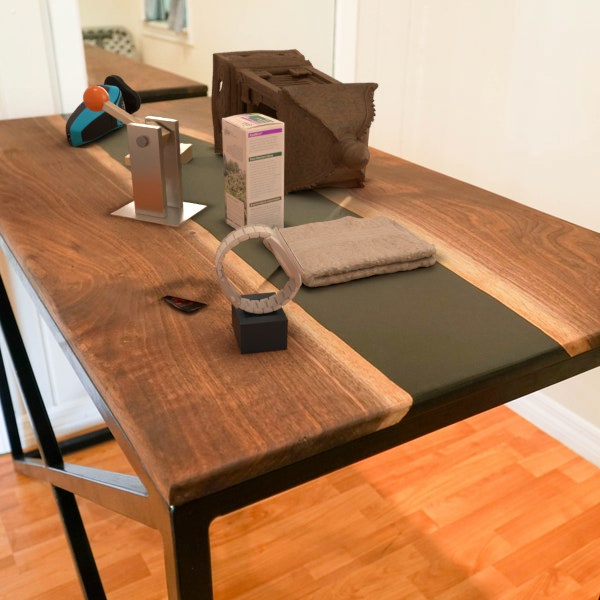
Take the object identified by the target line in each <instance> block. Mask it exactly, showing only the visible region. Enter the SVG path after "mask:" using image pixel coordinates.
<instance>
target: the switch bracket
mask: <svg viewBox="0 0 600 600" xmlns="http://www.w3.org/2000/svg"><path fill="white" fill-rule="evenodd" d="M151 121H154V122H155V123H157V124H158V125H160V126H161V127H158V126H151V125H144V124H146V123H148V122H151ZM179 123H180V122H179V119H174V118H166V117H158V116H152V115H148V116H146V117H144V124H136V123H129V124H127V125H126V133H127V143H128V154H129V155H130V165H131V166H130V174H131V183H132V184H131V185H132V194H133V201H131V202H129V203H127V204H125V205H123V206H121V207H120V208H118V209H117V210H114V211H113V212H111V213H110V216H112V217H116V218H117V217H118V218H121V219H122V218H123V219H127V220H128V219H129V220H134V221H137V222H144V223H150V224H155V225H159V226H165V227H170V228H176V229H178V228H179V227H180V226H182V225H184V224H185V223H187V222H188V221H190V220H191V219H193V218H194V217H195V216H197V215H198V214H200V213H202V212H203V211H205V210H206V209H207V208H208V206H207V205H203V204H197V203H191V202H185V201H184V193H183V192H184V191H183V176H182V163H181V156H180V143H181V141H180V124H179ZM162 127H163V128H164V129H166V130H167V131H169V132H170V134H169V137H168V140H167V143H166V145H165V148H163V140H162Z"/></svg>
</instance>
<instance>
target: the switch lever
mask: <svg viewBox="0 0 600 600" xmlns="http://www.w3.org/2000/svg"><path fill="white" fill-rule="evenodd" d="M83 101H84V104H85V106H86V107H87V108H88V109H89V110H91V111H94V112H101V111H103V110H104V111H106V112H107V113H109V114H110V115H112V116H113V117H115V118H116V119H118V120H120V121H121V122H123V123H124V125H126V126H127V124H129V123H136V124H144V125H151V126H158V127H161V126H160V125H158V124H157V123H155V122H154V121H151V122H148V123H146V124H145V122H142V121H141V120H139V119H138V118H136V117H135V116H134V115H133V114H131V115H130V114H129V113H127V112H125V111H124V110H122V109H121V108H119V107H118V106H116V105H115V104H113V103H112V102H110V101H109V95H108V93H107V92H106V90H105V89H103V88H102V87H100V86H94V85H90V86H89V87H87V88H86V89H85V90H84V91H83V94H82V102H83ZM169 134H170V132H169V131H167V130H166V129H164V128H163V127H162V140H163V148H165V145H166V143H167V140H168V137H169Z"/></svg>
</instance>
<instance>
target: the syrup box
mask: <svg viewBox="0 0 600 600" xmlns="http://www.w3.org/2000/svg"><path fill="white" fill-rule="evenodd" d="M222 138H223V154H222V160H223V162H222V163H223V189H224V192H223V194H224V213H225V214H224V215H225V216H224V217H225V224H227V225H228V226H230V227H231V228H233V229H235V230H236V229H237V228H240V227H242V226H246V225H251V224H254V225H255V224H265V225H267V226H268V227H270V228H271V229H273V230H274V228H275V227H277V228H278V229H279V228H285V227H284V226H285V223H284V221H285V217H284V216H285V215H284V214H285V212H284V211H285V210H284V209H285V195H284V123H283V122H281V121H278V120H276V119H273V118H270V117H268V116H265V115H262V114H260V113H251V114H241V115H235V116H231V117H227V118H222Z"/></svg>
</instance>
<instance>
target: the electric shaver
mask: <svg viewBox="0 0 600 600" xmlns="http://www.w3.org/2000/svg"><path fill="white" fill-rule="evenodd" d="M93 86H100V87H102V88H103V89H105V90H106V92H107V93H108V95H109V101H110V102H112V103H113V104H115V105H116V106H118V107H119V108H121V109H122V110H124V111H125V112H127V113H129V114H130V115H133V114H135V113H137V112H138V111H139V110H140V108H141V105H142V99H141V97H140V95H139V93H138V92H137V91H136V90H134V89H133V88H132V87H130V86H129V85H128V83H126V82H125V80H124V79H123V78H122V77H121V76H119V75H117V74H111V75H107V77H105V79H104V82H103V84H95V85H93ZM124 125H125V124H124V123H123V122H121V121H120V120H118V119H116V118H115V117H113V116H112V115H110V114H109V113H107V112H106V111H104V110H103V111H101V112H94V111H91V110H89V109H88V108H87V107H86V106H85V104H84V101H83V100H82V102H81V103H79V105H78V106H77V107H76V108H75V109H74V111H73V112H72V114H71V115H70V116H69V117H68V119H67V120H66V123H65V135H66V139H67V142H68V144H69V145H70V146H71V147H73V148H76V147H80V146H82V145H85V144H88V143H90V142H92V141H95V140H97V139H99V138H101V137H103V136H104V135H106V134H108V133H110V132H112V131H115V130H116V129H119V128H121V127H124Z"/></svg>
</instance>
